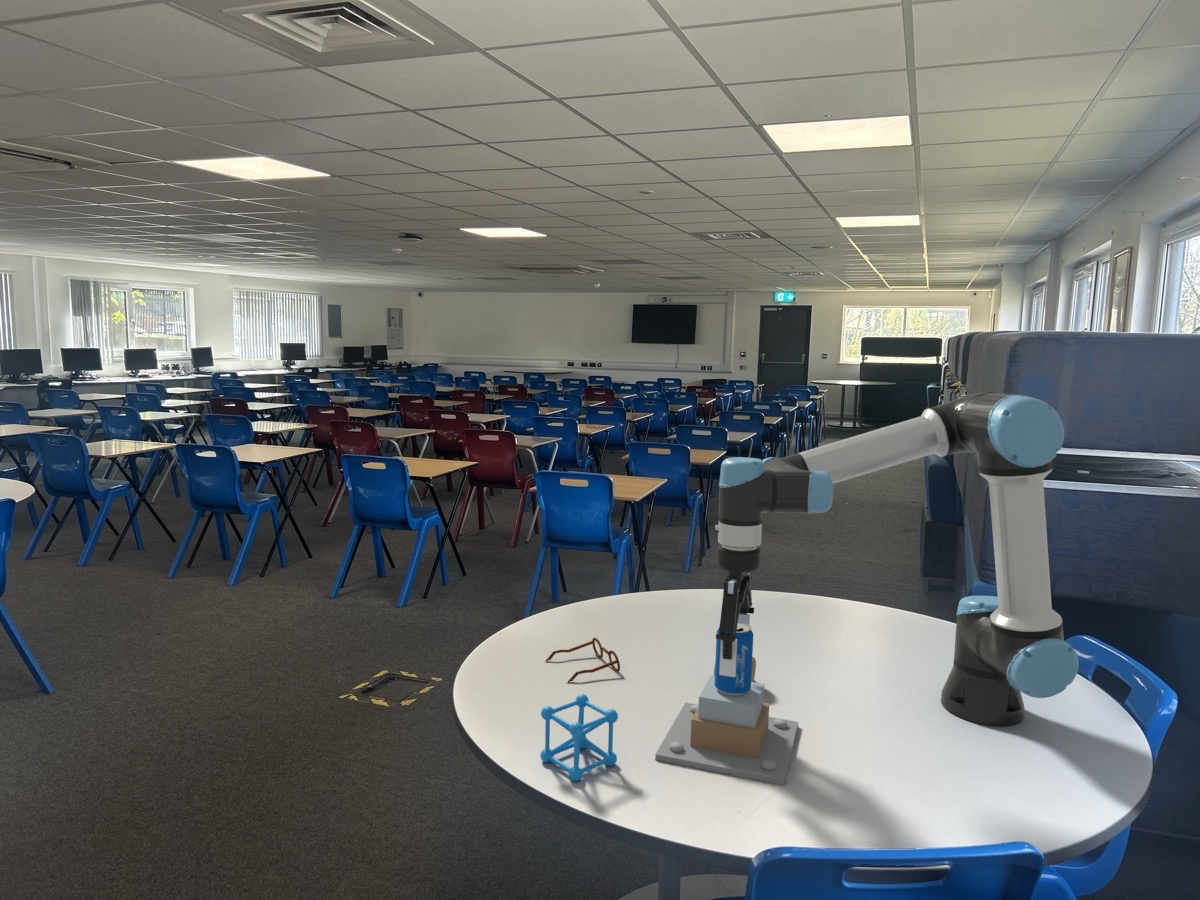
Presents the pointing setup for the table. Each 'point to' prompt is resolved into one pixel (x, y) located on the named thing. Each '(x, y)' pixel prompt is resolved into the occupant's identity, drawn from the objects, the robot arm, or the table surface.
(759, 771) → the tower base
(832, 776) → the table surface
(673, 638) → the table surface
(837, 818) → the table surface
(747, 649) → the beverage can
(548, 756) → the molecular structure
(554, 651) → the glasses
